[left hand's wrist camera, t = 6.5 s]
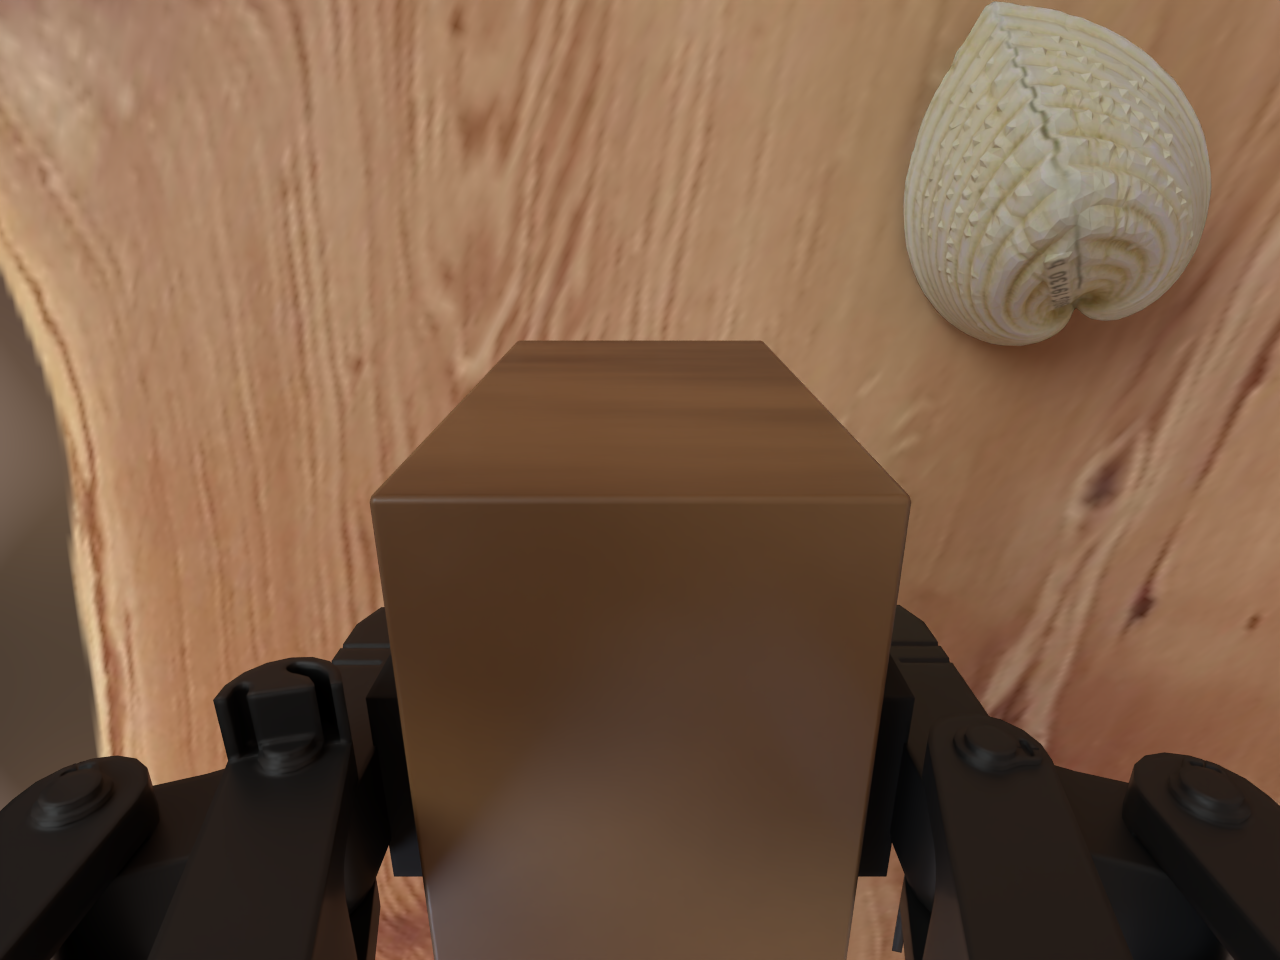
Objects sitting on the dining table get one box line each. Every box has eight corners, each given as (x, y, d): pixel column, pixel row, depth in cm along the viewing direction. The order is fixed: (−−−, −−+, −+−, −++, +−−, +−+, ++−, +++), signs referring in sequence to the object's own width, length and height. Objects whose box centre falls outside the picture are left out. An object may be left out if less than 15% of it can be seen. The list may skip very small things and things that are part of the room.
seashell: (946, 420, 24) (880, 245, 18) (917, 245, 28) (857, 60, 22) (1258, 349, 20) (1300, 97, 14) (1168, 159, 24) (1172, -91, 19)
